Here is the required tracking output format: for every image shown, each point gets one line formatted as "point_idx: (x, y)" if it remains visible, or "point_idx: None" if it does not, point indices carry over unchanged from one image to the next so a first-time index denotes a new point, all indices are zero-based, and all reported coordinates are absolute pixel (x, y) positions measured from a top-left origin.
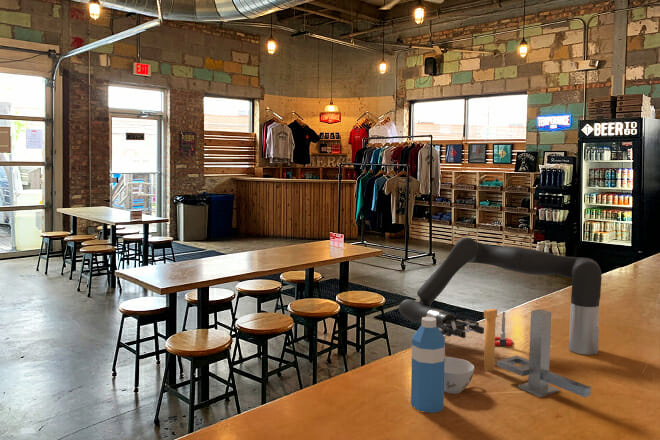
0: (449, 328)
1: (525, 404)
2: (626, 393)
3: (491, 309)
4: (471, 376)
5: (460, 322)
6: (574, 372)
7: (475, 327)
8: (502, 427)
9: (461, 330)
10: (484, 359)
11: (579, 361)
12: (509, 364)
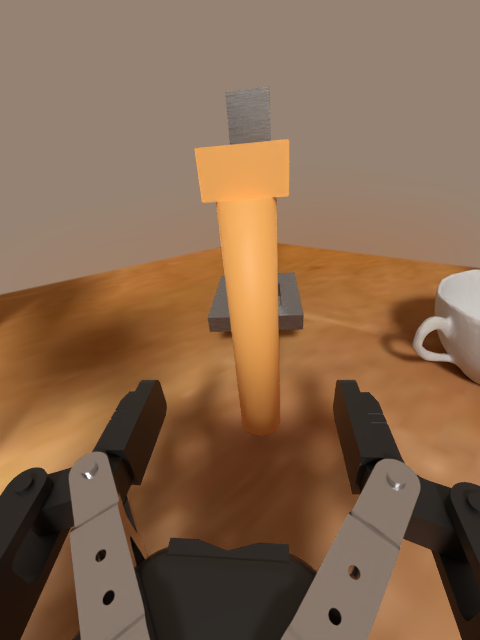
0: (476, 501)
1: (336, 290)
2: (157, 272)
3: (225, 145)
4: (456, 290)
5: (151, 627)
6: (107, 323)
7: (133, 450)
8: (431, 270)
9: (351, 408)
10: (277, 396)
11: (15, 347)
12: (291, 294)
